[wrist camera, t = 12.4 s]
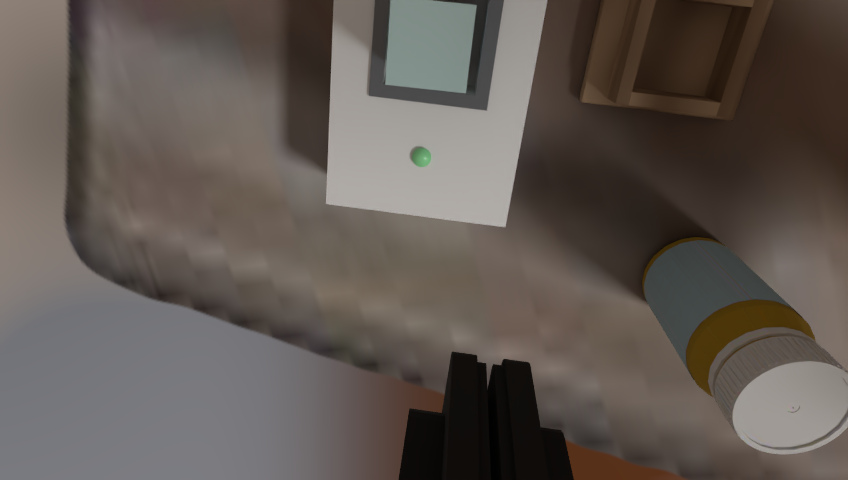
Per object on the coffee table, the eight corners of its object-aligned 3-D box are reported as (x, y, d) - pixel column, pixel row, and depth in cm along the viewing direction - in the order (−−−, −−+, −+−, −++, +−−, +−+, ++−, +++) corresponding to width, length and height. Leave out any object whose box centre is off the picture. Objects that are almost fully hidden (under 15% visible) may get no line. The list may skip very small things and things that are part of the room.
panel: (543, -38, 34) (556, -46, 29) (501, 201, 40) (505, 228, 35) (354, -61, 34) (335, -71, 29) (342, 181, 40) (325, 204, 36)
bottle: (635, 243, 41) (720, 365, 27) (733, 225, 39) (874, 342, 26) (643, 321, 43) (725, 468, 30) (736, 305, 42) (865, 451, 28)
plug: (475, 3, 34) (478, 3, 25) (467, 71, 36) (466, 94, 26) (411, -3, 34) (389, -6, 25) (405, 64, 36) (384, 85, 27)
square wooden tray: (769, -12, 33) (802, -14, 30) (726, 117, 36) (750, 128, 33) (608, -31, 33) (622, -35, 30) (578, 99, 37) (589, 108, 34)
